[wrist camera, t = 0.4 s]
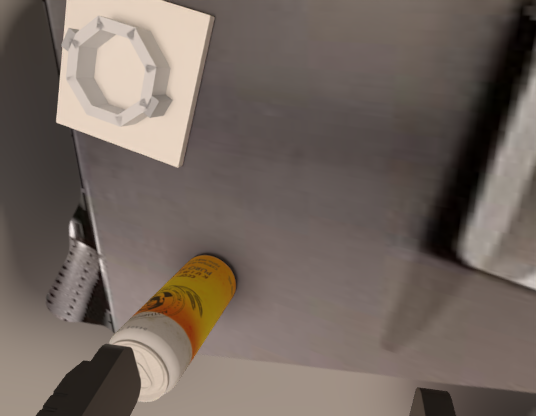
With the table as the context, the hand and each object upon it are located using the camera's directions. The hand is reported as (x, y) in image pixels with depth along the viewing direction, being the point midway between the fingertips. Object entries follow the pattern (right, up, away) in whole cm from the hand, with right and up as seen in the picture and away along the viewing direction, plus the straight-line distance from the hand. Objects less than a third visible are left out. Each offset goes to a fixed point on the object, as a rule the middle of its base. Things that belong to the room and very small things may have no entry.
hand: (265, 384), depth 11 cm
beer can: (-6, -3, +32) cm, 32 cm away
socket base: (-13, +18, +27) cm, 35 cm away
